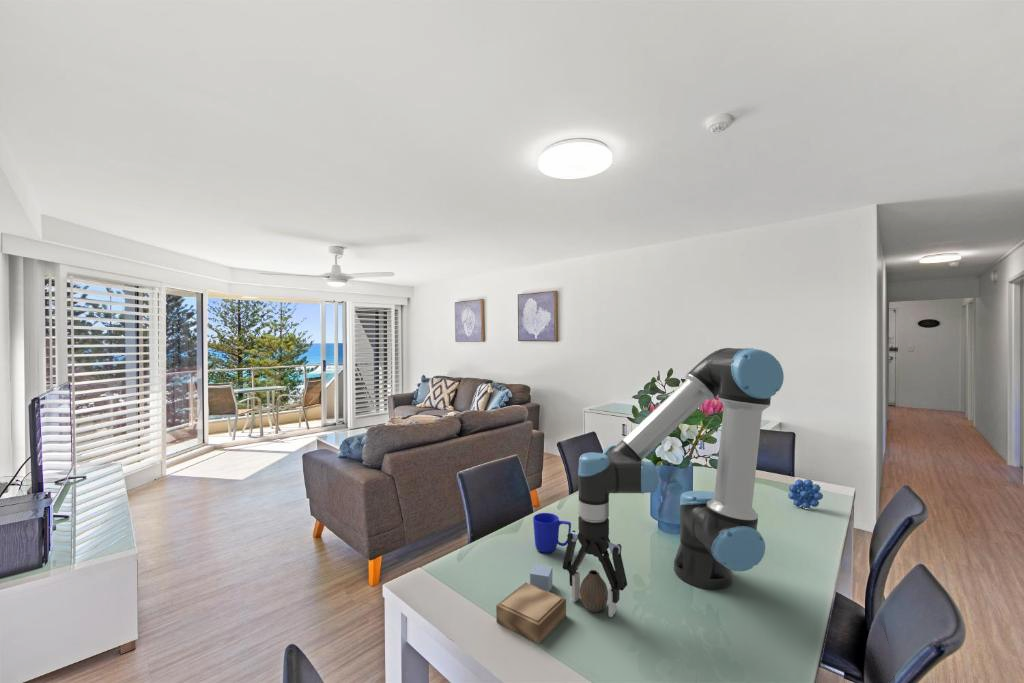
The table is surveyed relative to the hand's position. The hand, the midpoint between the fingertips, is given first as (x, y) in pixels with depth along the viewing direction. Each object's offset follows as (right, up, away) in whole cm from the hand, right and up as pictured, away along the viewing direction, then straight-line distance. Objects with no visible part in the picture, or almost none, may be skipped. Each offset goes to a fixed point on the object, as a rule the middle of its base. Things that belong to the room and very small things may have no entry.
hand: (593, 606), depth 107 cm
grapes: (+96, 0, +62) cm, 114 cm away
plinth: (-16, 0, -4) cm, 16 cm away
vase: (0, 0, 0) cm, 0 cm away
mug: (-8, 0, +30) cm, 31 cm away
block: (-13, 0, +8) cm, 15 cm away
